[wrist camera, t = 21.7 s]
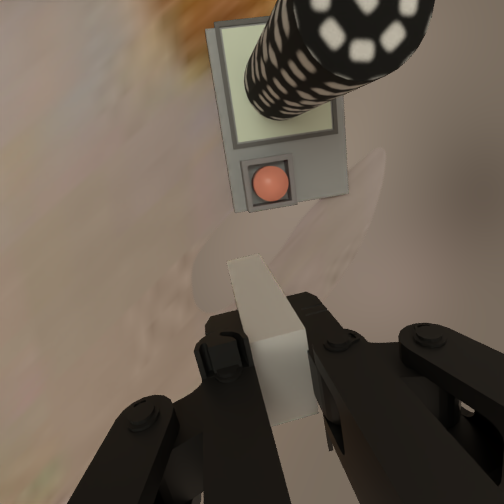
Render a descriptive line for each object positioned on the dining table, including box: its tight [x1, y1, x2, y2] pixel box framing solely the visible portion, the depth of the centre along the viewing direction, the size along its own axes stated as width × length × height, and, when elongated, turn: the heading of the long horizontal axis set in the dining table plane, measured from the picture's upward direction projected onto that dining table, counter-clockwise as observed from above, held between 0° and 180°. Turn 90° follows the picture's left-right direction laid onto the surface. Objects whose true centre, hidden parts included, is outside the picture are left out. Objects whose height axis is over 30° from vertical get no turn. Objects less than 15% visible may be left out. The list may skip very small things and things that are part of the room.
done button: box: [252, 166, 289, 201], centre depth 38 cm, size 4×4×2 cm
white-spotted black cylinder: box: [244, 0, 435, 121], centre depth 27 cm, size 8×8×20 cm
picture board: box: [205, 16, 349, 213], centre depth 37 cm, size 20×15×3 cm
